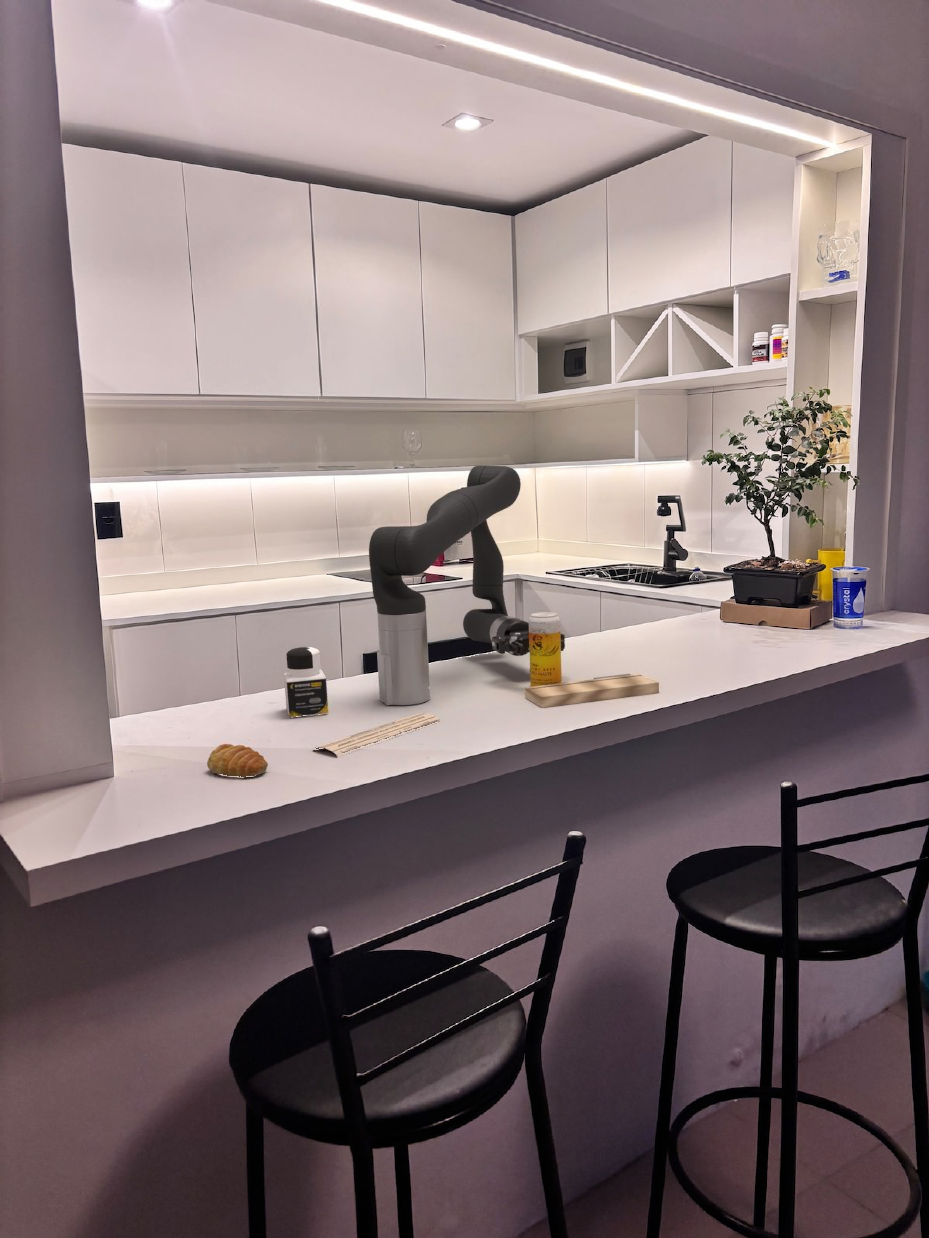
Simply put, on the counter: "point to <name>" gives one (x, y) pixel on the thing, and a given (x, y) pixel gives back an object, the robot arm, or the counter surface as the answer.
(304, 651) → the medicine bottle
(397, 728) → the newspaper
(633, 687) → the board
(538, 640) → the beer can
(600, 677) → the pad
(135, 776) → the counter surface
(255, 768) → the pastry
